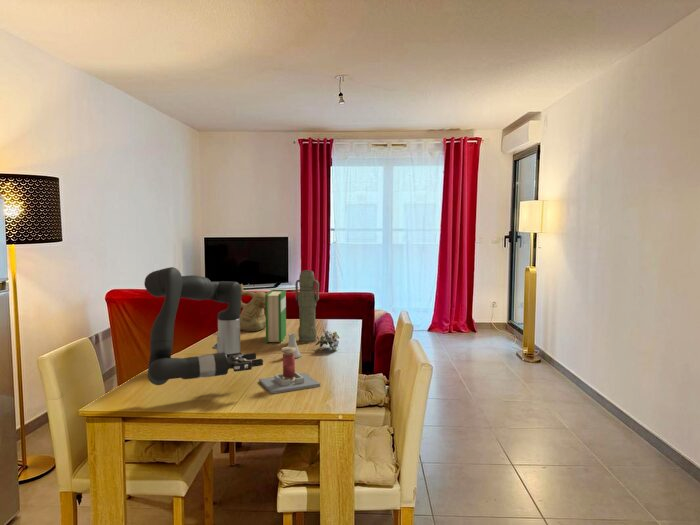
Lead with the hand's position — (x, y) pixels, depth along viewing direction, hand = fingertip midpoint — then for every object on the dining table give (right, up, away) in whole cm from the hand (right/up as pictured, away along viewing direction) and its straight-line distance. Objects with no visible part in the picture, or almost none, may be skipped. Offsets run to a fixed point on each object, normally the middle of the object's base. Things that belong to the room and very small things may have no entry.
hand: (259, 358), depth 173 cm
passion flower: (+21, -7, +54) cm, 58 cm away
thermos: (+11, -5, +72) cm, 73 cm away
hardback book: (-5, -5, +76) cm, 76 cm away
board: (+10, -10, +6) cm, 15 cm away
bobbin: (+10, -9, +5) cm, 14 cm away
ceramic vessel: (-22, -3, +100) cm, 103 cm away
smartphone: (-29, -6, +65) cm, 72 cm away
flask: (+7, -8, +42) cm, 44 cm away
